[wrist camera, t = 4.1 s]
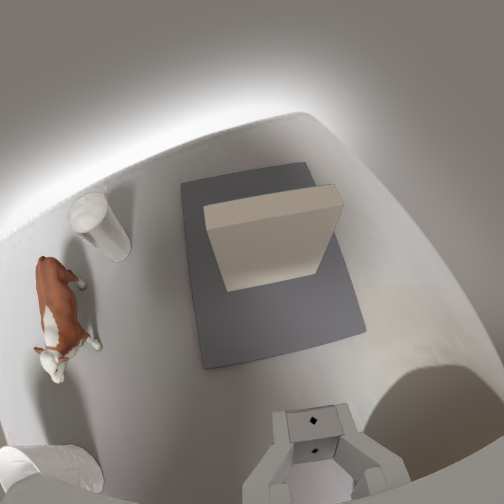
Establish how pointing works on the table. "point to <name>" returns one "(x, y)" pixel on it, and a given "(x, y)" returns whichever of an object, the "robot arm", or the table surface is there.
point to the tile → (272, 234)
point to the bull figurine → (59, 317)
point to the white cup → (50, 465)
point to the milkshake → (99, 225)
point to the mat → (264, 296)
